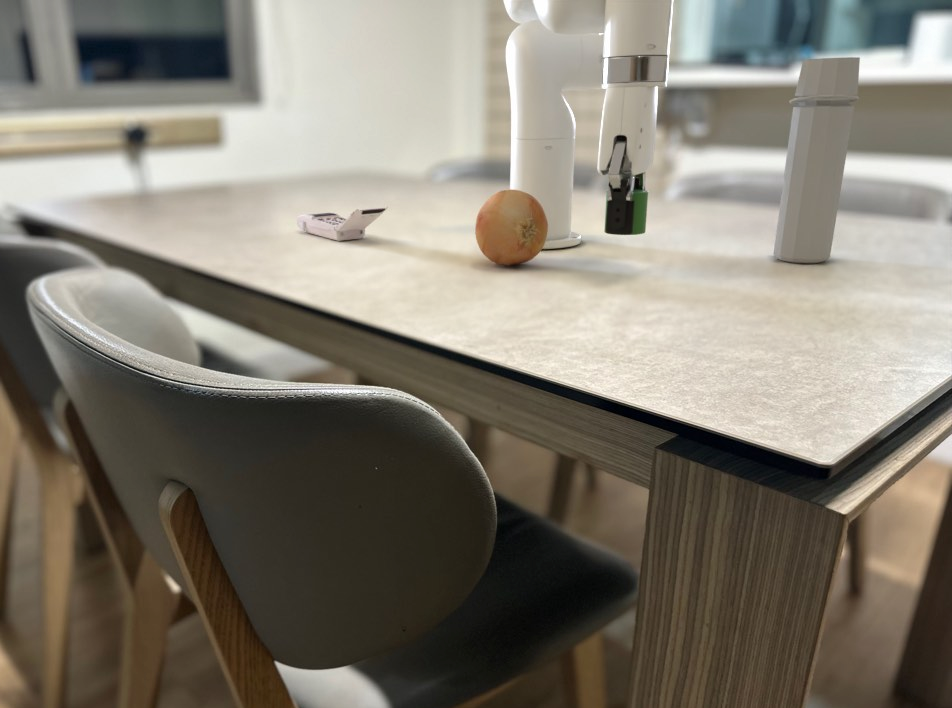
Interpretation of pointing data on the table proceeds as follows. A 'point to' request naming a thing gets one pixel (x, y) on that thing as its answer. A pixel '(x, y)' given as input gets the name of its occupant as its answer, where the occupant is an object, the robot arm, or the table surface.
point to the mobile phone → (339, 224)
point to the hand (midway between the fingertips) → (624, 229)
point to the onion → (511, 227)
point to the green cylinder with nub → (636, 211)
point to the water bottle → (816, 158)
